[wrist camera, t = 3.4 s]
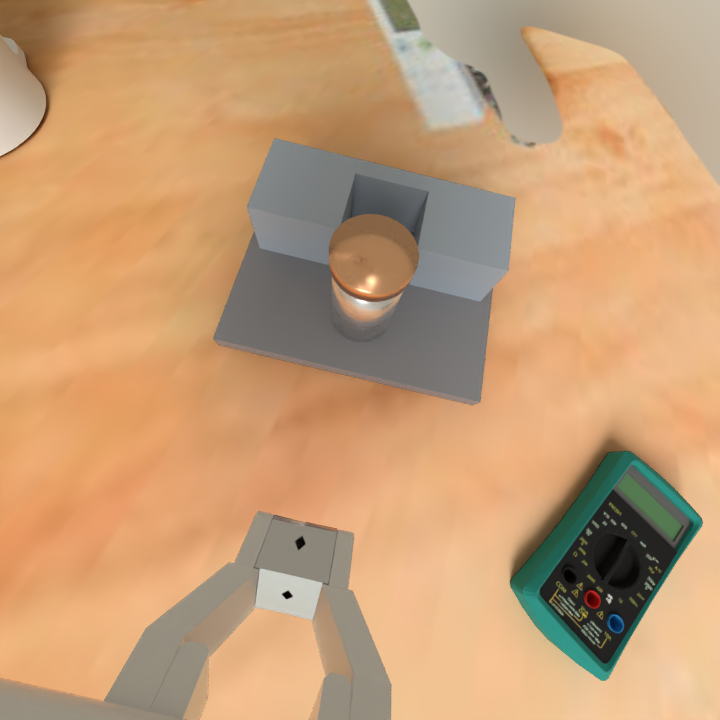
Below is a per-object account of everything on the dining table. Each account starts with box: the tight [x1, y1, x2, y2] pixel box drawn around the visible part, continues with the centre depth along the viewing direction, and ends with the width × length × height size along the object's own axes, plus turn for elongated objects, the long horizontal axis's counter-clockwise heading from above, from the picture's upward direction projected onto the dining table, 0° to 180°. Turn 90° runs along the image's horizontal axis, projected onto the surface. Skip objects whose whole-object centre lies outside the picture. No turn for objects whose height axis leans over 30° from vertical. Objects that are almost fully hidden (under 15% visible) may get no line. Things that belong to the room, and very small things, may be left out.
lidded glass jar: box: [329, 214, 419, 342], centre depth 24 cm, size 5×5×9 cm
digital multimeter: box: [510, 451, 703, 681], centre depth 25 cm, size 7×15×3 cm, turn 133°
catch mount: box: [213, 138, 515, 405], centre depth 28 cm, size 22×17×6 cm
